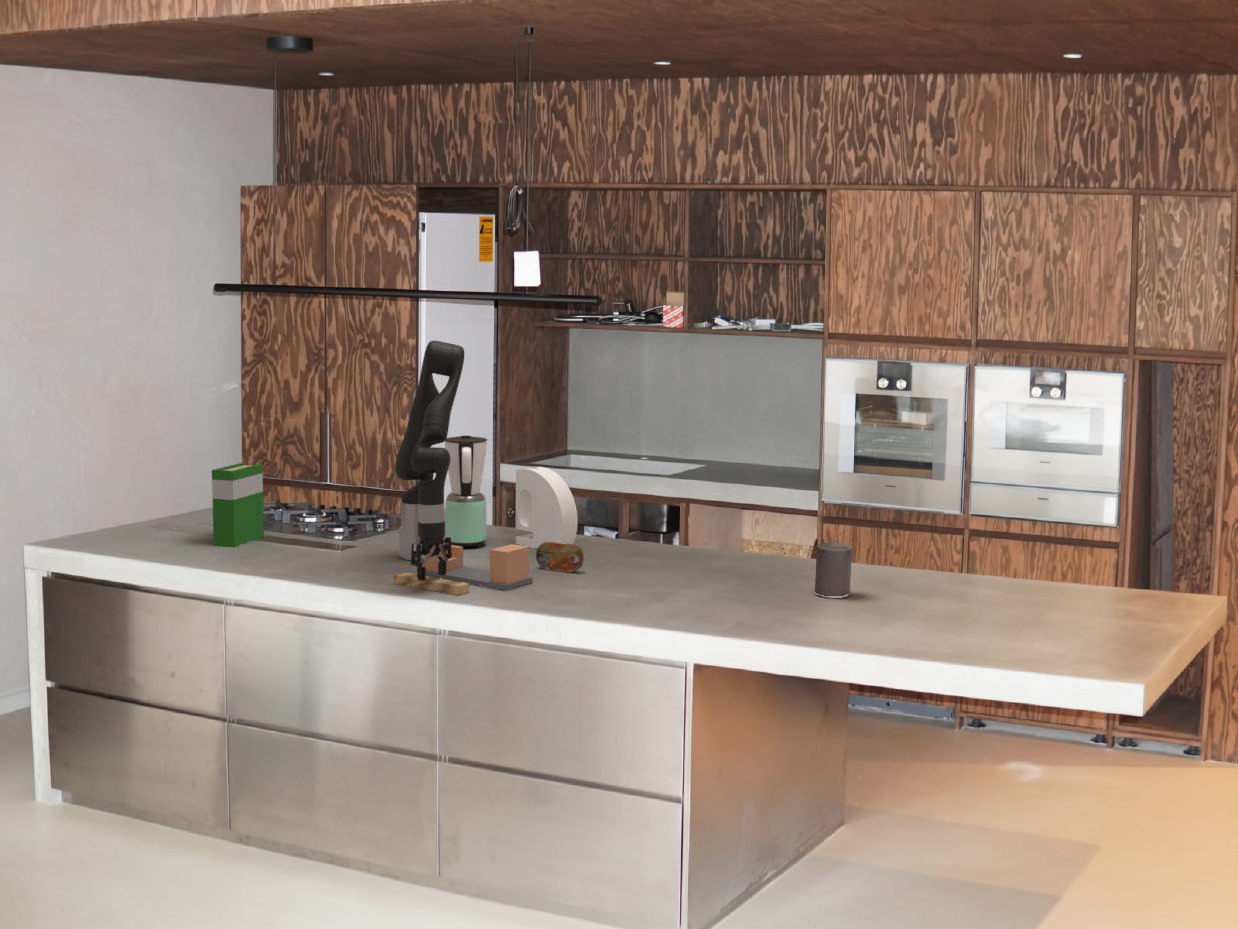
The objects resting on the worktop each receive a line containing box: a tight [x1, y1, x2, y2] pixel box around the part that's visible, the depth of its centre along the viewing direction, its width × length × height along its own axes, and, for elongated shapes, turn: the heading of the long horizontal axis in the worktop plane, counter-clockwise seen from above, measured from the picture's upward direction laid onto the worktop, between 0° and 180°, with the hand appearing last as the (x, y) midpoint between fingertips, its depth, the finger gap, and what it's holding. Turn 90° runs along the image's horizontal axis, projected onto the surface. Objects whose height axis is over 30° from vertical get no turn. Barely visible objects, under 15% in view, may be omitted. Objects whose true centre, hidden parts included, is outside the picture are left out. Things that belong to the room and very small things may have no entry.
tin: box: [535, 542, 585, 574], centre depth 413 cm, size 15×3×8 cm, turn 62°
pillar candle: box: [814, 541, 853, 596], centre depth 386 cm, size 10×10×15 cm
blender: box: [444, 435, 488, 549], centre depth 444 cm, size 19×13×35 cm
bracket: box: [515, 466, 578, 549], centre depth 444 cm, size 7×21×25 cm, turn 48°
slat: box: [393, 571, 470, 597], centre depth 388 cm, size 24×4×3 cm, turn 56°
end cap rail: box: [424, 543, 533, 591], centre depth 399 cm, size 31×12×10 cm, turn 56°
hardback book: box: [211, 462, 265, 548], centre depth 448 cm, size 18×7×24 cm, turn 164°
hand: (431, 577), depth 388 cm, fingers open, 8 cm apart
